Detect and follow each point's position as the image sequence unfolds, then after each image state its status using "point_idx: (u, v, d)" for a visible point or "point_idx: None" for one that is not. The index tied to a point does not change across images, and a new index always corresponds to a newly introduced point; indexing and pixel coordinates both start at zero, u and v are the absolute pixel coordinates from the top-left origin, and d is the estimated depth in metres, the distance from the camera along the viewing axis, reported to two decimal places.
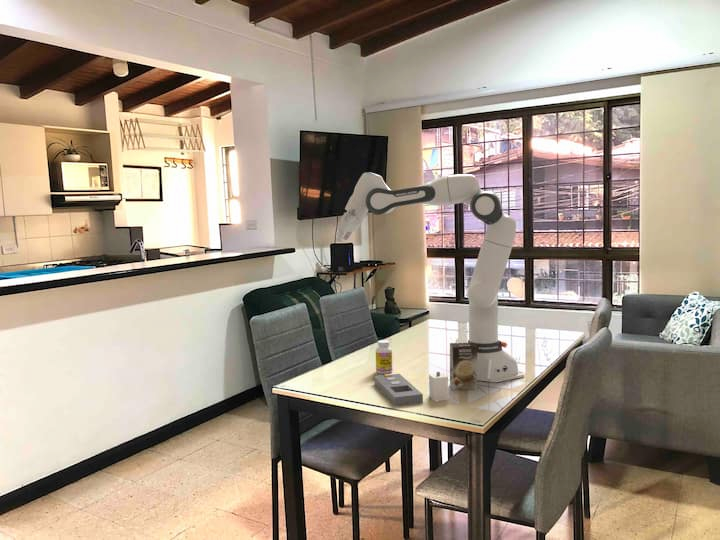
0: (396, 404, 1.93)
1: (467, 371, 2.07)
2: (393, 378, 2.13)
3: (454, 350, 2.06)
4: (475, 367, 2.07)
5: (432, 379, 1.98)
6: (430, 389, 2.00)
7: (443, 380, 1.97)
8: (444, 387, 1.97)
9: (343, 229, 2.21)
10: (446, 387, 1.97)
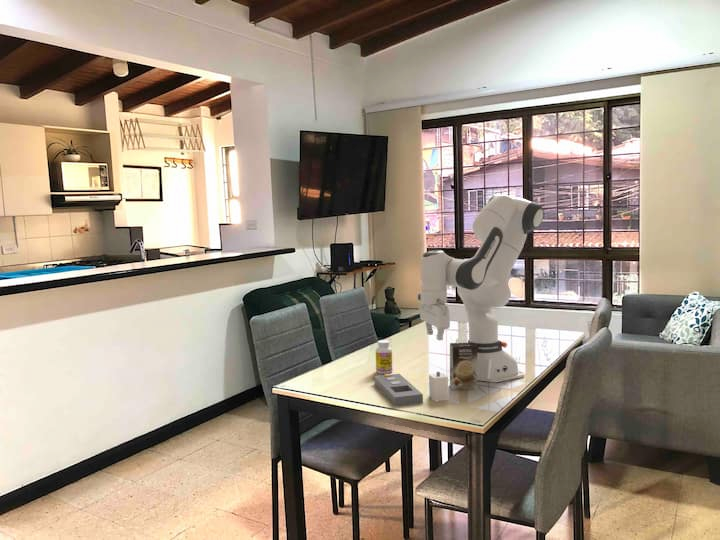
0: (396, 404, 1.93)
1: (468, 371, 2.07)
2: (393, 378, 2.13)
3: (454, 350, 2.06)
4: (475, 367, 2.07)
5: (432, 379, 1.98)
6: (430, 389, 2.00)
7: (443, 380, 1.97)
8: (444, 387, 1.97)
9: (448, 325, 1.88)
10: (446, 387, 1.97)
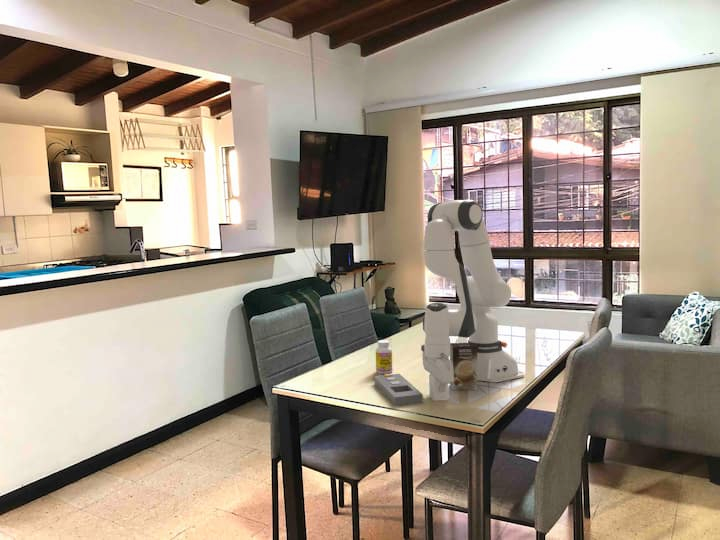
0: (396, 404, 1.93)
1: (468, 371, 2.07)
2: (393, 378, 2.13)
3: (454, 350, 2.06)
4: (475, 367, 2.07)
5: (432, 379, 1.98)
6: (430, 389, 2.00)
7: None
8: None
9: (452, 380, 1.90)
10: (446, 387, 1.98)
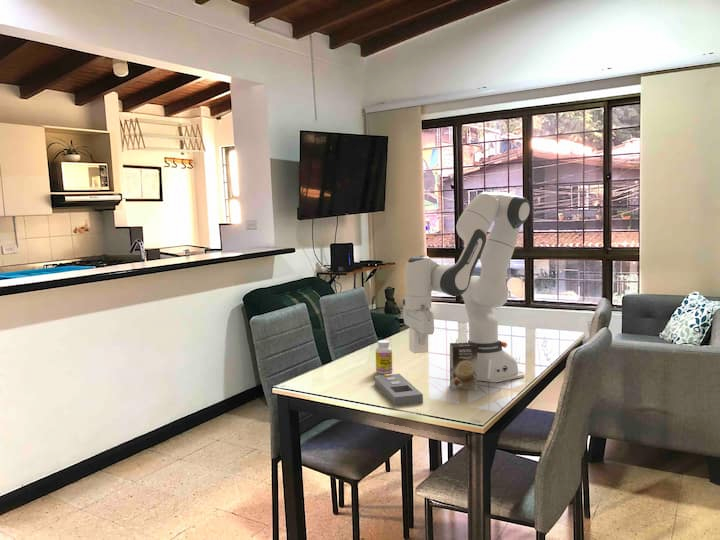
0: (396, 404, 1.93)
1: (468, 371, 2.07)
2: (393, 378, 2.13)
3: (454, 350, 2.06)
4: (475, 367, 2.07)
5: (412, 332, 1.96)
6: (410, 342, 1.99)
7: None
8: None
9: (432, 330, 1.88)
10: (426, 340, 1.96)
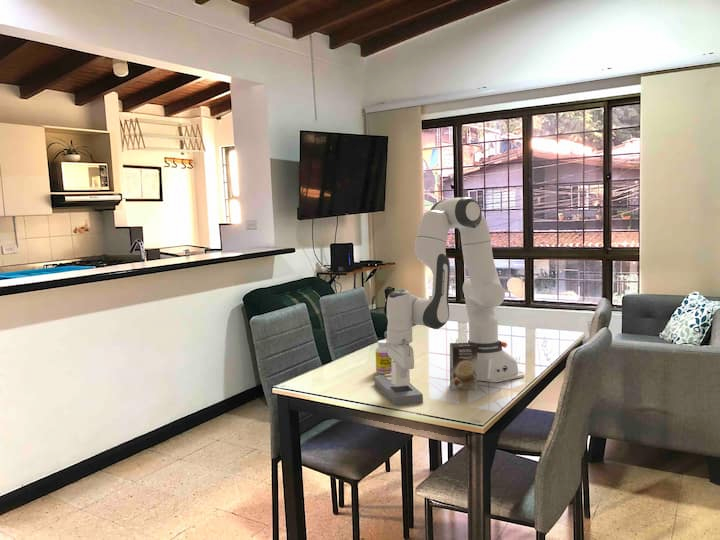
0: (396, 404, 1.93)
1: (468, 371, 2.07)
2: None
3: (454, 350, 2.06)
4: (475, 367, 2.07)
5: (394, 365, 1.99)
6: (392, 375, 2.02)
7: None
8: None
9: (412, 365, 1.91)
10: (408, 373, 1.99)
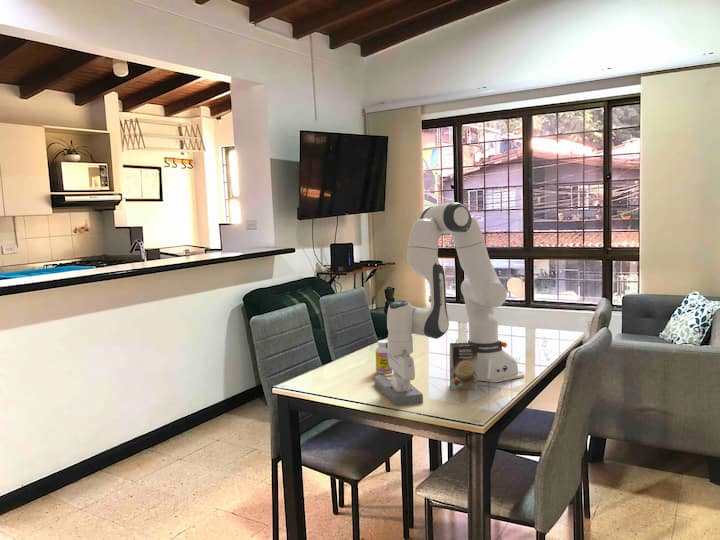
0: (396, 404, 1.93)
1: (468, 371, 2.07)
2: None
3: (454, 350, 2.06)
4: (475, 367, 2.07)
5: (395, 379, 2.00)
6: (393, 388, 2.02)
7: None
8: None
9: (413, 376, 1.91)
10: (408, 386, 2.00)
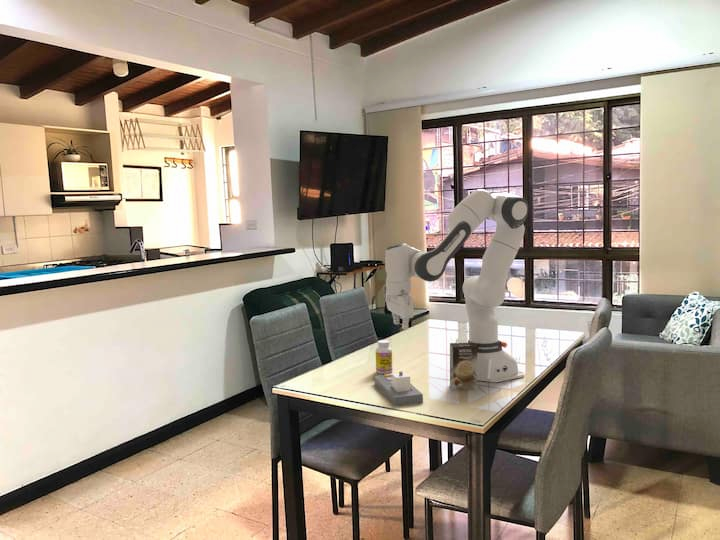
0: (396, 404, 1.93)
1: (468, 371, 2.07)
2: None
3: (454, 350, 2.06)
4: (475, 367, 2.07)
5: (395, 379, 2.00)
6: (393, 388, 2.02)
7: (405, 380, 1.99)
8: (407, 386, 1.99)
9: (412, 314, 1.97)
10: (408, 386, 2.00)
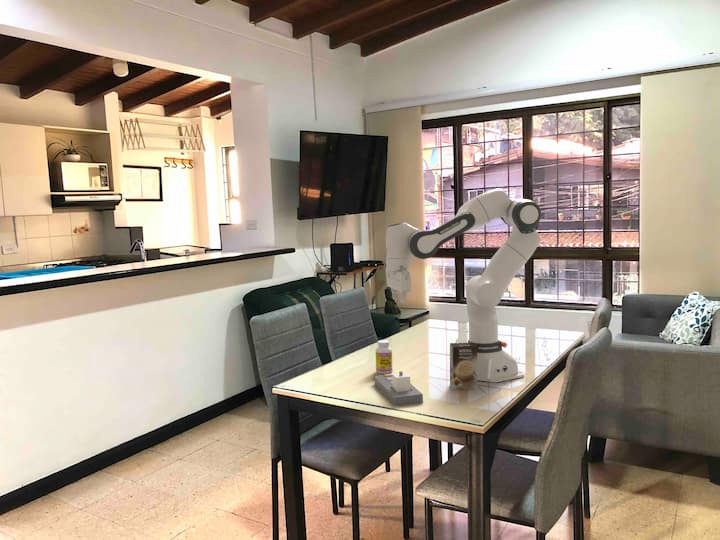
0: (396, 404, 1.93)
1: (468, 371, 2.07)
2: None
3: (454, 350, 2.06)
4: (475, 367, 2.07)
5: (395, 379, 2.00)
6: (393, 388, 2.02)
7: (405, 380, 1.99)
8: (407, 387, 1.99)
9: (409, 288, 2.08)
10: (408, 386, 2.00)
